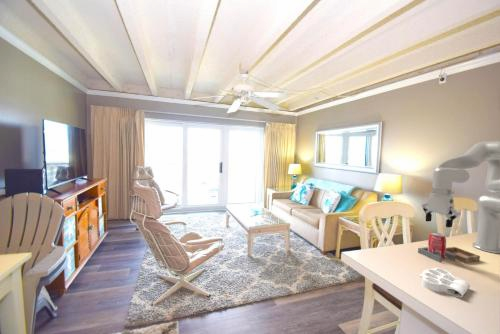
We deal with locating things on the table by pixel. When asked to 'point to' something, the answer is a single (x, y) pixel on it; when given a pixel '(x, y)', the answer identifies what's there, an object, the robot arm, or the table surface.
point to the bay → (433, 256)
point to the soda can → (437, 244)
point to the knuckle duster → (444, 282)
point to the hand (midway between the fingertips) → (438, 224)
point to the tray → (462, 255)
